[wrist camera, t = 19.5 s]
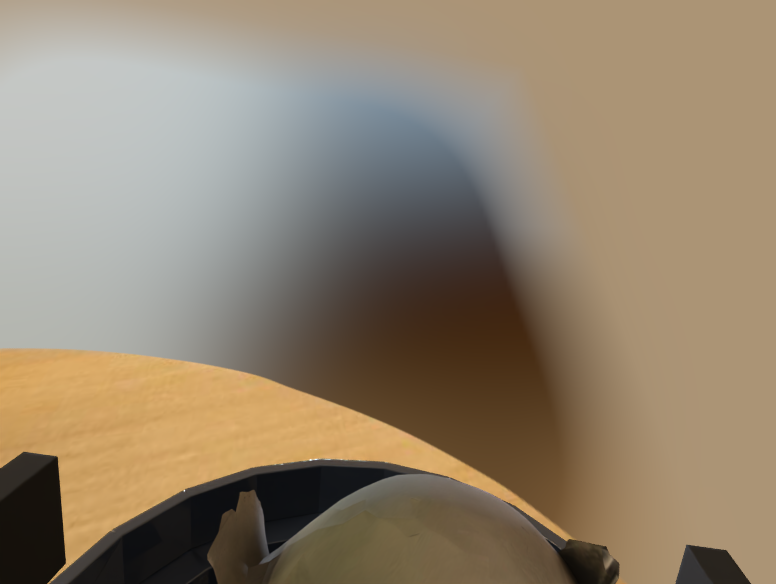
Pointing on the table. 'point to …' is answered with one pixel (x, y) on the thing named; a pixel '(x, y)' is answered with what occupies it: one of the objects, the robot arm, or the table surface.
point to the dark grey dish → (204, 513)
